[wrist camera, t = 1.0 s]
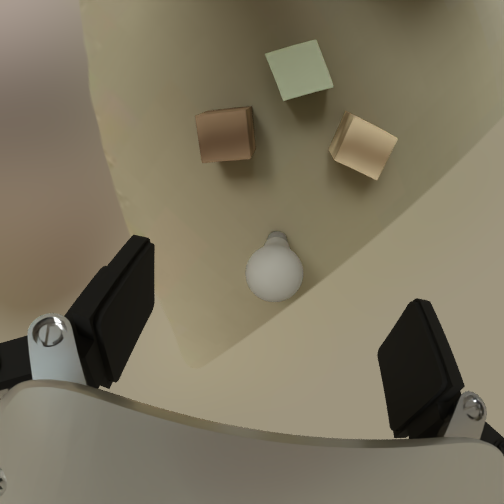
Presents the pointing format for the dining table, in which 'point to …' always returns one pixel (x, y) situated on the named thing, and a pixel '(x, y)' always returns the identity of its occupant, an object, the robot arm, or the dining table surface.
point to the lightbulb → (274, 270)
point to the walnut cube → (226, 134)
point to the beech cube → (361, 145)
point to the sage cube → (299, 69)
